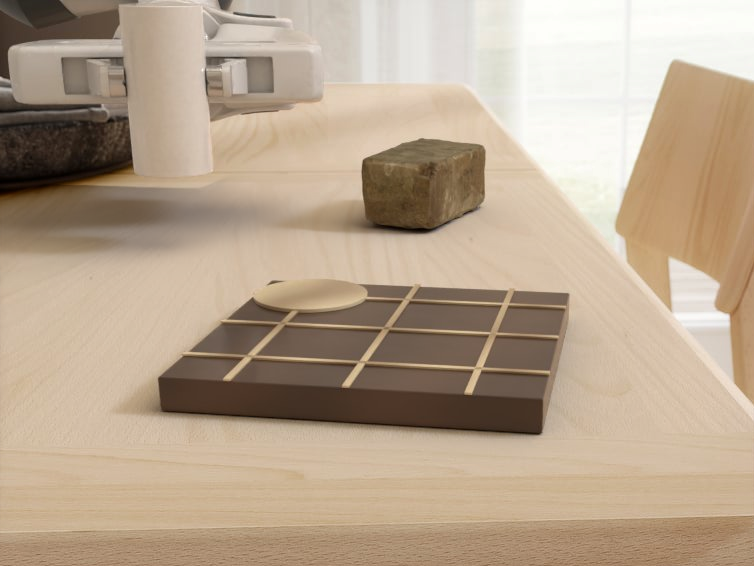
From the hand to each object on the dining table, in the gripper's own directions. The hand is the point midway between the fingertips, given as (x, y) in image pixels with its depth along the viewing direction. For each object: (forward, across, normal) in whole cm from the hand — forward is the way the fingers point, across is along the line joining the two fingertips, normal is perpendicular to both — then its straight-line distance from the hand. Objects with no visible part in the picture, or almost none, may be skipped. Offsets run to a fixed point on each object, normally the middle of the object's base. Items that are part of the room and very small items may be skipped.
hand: (166, 82), depth 72 cm
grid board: (+25, +10, +10) cm, 29 cm away
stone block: (-8, +18, +10) cm, 22 cm away
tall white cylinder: (-1, 0, +6) cm, 6 cm away
